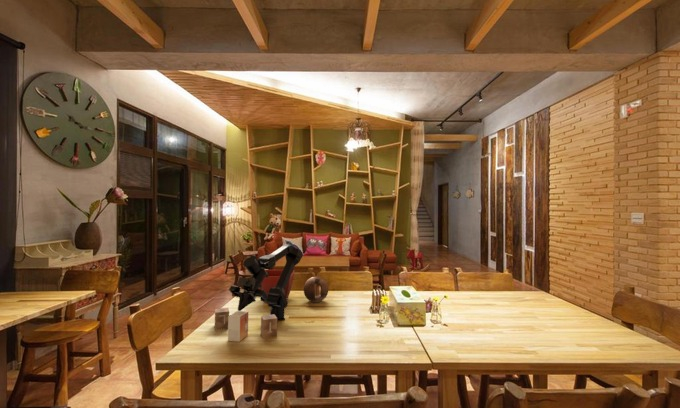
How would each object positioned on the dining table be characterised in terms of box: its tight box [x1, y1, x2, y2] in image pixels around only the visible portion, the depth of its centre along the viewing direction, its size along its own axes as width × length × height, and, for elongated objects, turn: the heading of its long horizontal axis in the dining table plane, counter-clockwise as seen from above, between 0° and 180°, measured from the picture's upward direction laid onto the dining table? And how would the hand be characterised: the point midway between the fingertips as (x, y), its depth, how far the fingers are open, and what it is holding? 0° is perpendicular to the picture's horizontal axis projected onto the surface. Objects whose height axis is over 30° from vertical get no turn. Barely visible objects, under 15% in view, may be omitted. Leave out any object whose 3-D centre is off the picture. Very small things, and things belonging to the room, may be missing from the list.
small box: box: [227, 310, 249, 343], centre depth 144 cm, size 8×6×10 cm
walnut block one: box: [260, 314, 278, 339], centre depth 147 cm, size 6×6×8 cm
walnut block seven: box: [214, 307, 230, 331], centre depth 156 cm, size 6×6×8 cm
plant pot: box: [258, 269, 295, 304], centre depth 202 cm, size 19×19×17 cm
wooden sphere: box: [303, 276, 329, 303], centre depth 201 cm, size 15×15×15 cm
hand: (238, 310), depth 144 cm, fingers closed
